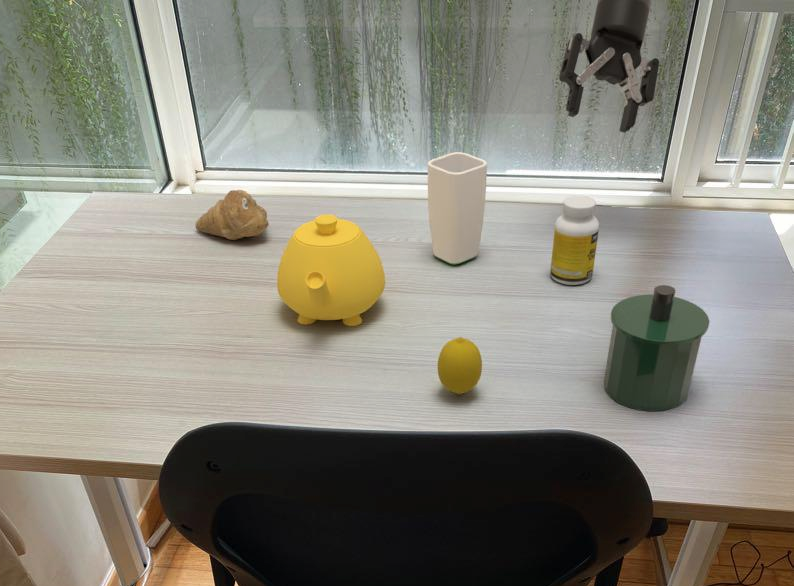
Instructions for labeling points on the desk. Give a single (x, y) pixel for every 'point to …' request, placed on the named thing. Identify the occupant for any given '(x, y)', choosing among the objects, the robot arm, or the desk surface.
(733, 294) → the desk surface
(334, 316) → the teapot
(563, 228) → the pill bottle
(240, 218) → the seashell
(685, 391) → the pot
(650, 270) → the desk surface
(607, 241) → the desk surface
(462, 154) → the cup
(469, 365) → the lemon
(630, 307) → the pot lid
